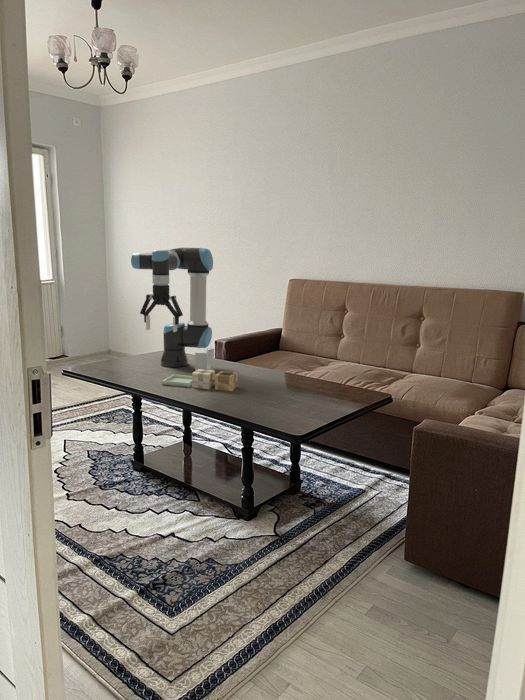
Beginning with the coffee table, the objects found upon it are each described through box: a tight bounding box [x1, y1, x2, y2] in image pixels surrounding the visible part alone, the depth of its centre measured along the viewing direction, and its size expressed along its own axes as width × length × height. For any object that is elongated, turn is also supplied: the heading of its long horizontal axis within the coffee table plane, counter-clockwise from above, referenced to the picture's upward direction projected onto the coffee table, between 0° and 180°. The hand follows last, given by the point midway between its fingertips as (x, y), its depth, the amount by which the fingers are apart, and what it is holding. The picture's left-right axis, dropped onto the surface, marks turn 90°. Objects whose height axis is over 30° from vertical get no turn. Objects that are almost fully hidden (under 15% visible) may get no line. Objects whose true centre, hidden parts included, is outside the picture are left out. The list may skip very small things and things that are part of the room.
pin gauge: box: [206, 348, 215, 371], centre depth 270 cm, size 4×4×16 cm
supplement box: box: [194, 349, 207, 372], centre depth 281 cm, size 7×7×13 cm
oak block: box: [214, 370, 239, 392], centre depth 258 cm, size 8×8×7 cm
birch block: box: [191, 369, 216, 390], centre depth 260 cm, size 8×8×7 cm
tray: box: [161, 374, 192, 388], centre depth 266 cm, size 14×14×2 cm
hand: (161, 330), depth 251 cm, fingers open, 13 cm apart
